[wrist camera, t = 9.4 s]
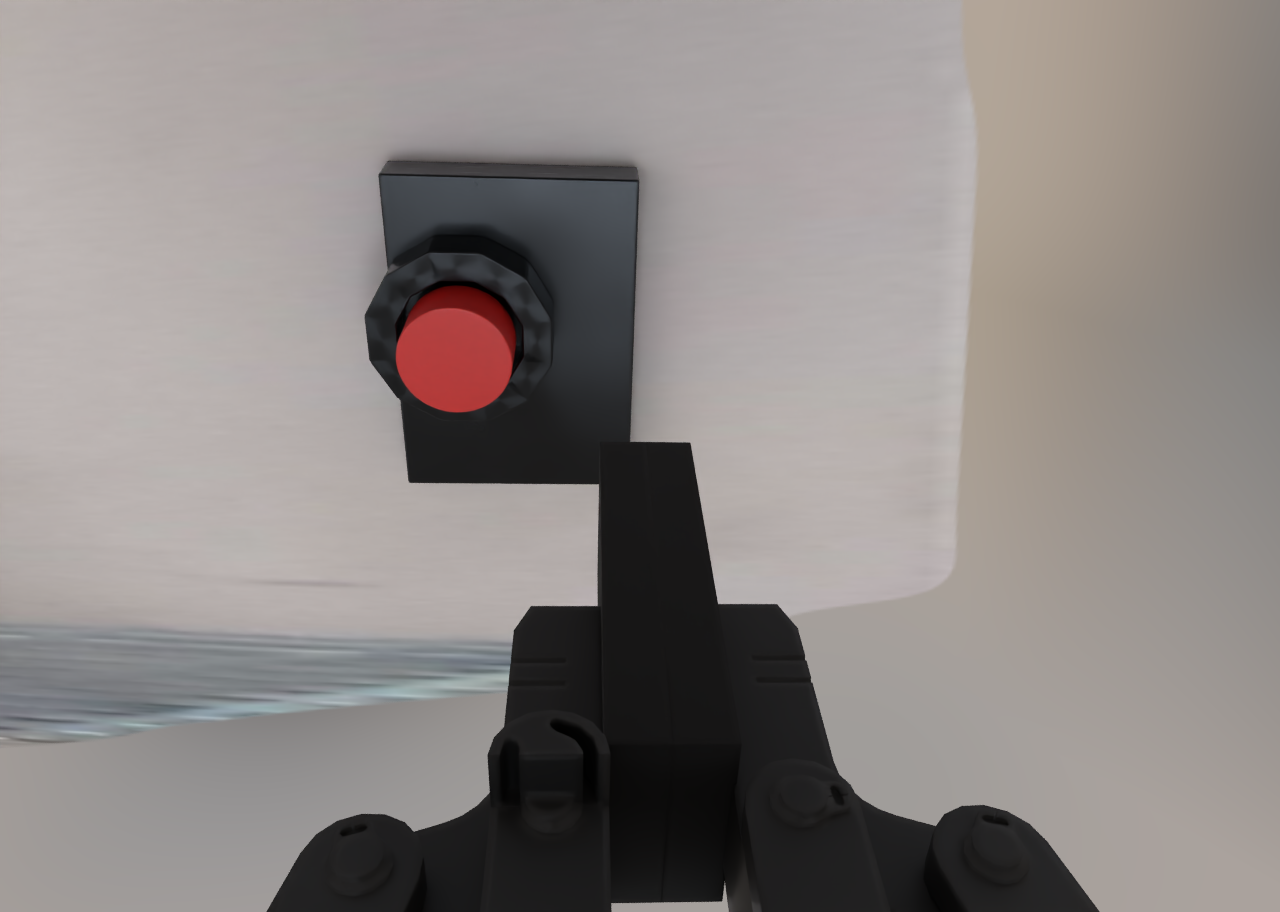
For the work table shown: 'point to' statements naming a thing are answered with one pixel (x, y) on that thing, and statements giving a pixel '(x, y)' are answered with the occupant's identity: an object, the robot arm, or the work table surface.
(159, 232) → the work table surface
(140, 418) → the work table surface
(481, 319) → the button
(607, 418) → the switch box
